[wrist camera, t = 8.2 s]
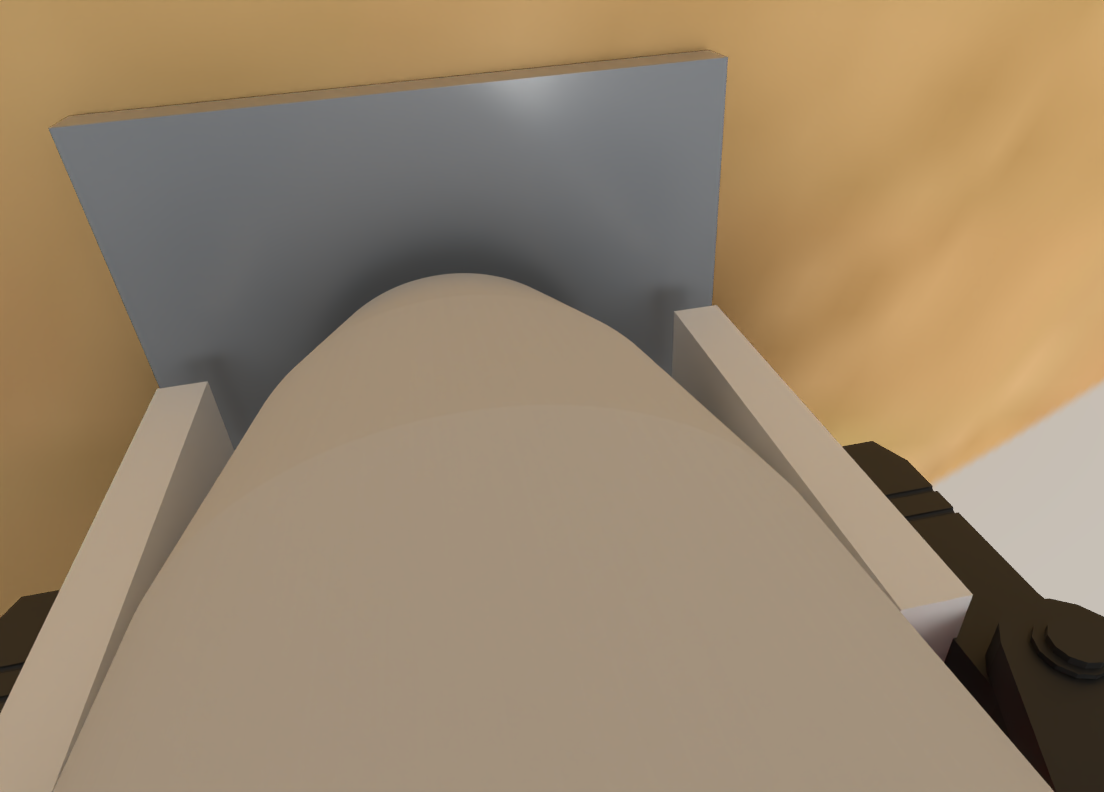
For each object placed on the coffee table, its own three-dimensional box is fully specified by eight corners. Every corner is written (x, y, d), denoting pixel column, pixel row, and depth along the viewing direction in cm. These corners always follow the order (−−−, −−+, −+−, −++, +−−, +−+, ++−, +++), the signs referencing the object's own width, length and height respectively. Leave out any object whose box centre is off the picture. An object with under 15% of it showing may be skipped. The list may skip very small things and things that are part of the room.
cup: (569, 599, 16) (770, 1315, 8) (166, 534, 13) (-205, 1585, 5) (762, 273, 13) (1497, 941, 4) (273, 82, 10) (-402, 1074, 1)
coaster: (259, 581, 16) (254, 609, 16) (68, 115, 11) (49, 128, 10) (685, 502, 18) (697, 524, 17) (708, 50, 12) (727, 57, 11)
